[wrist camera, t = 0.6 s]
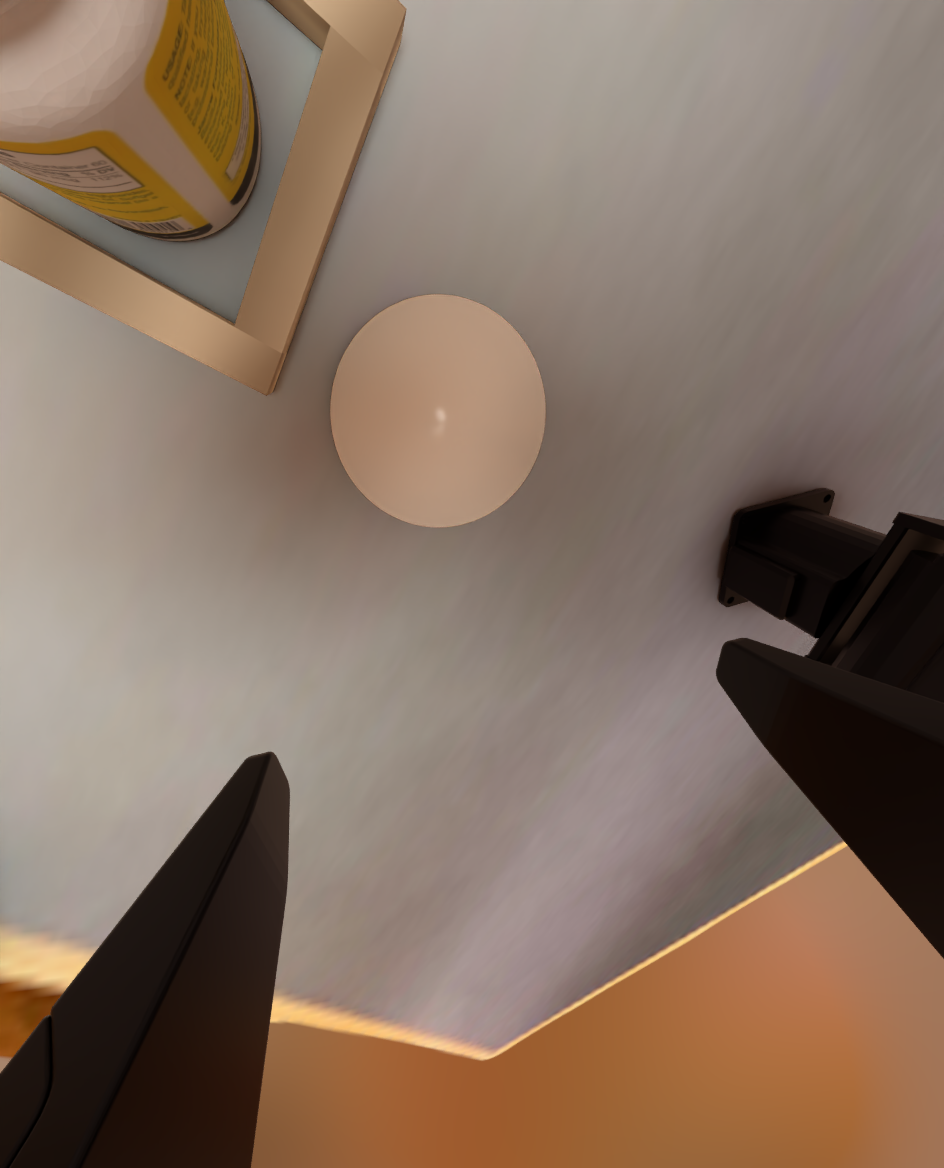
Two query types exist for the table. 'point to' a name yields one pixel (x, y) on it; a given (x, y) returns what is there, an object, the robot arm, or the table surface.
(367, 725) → the table surface
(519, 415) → the coaster
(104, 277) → the pocket frame
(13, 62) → the supplement bottle
